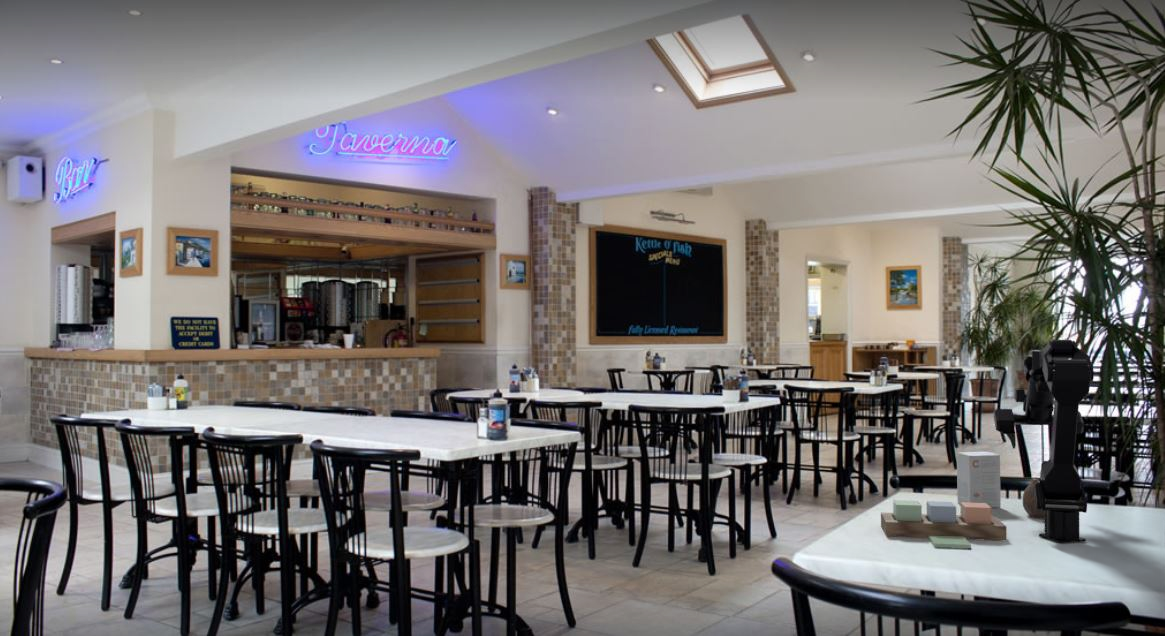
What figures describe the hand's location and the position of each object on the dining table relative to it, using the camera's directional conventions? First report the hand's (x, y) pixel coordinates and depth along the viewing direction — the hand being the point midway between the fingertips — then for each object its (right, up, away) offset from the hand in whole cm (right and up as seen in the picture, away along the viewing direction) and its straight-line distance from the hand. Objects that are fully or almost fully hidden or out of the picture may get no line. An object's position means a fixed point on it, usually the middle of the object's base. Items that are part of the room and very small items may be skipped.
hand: (1034, 448), depth 224 cm
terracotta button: (-25, -13, -25) cm, 38 cm away
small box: (-11, -15, +5) cm, 20 cm away
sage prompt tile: (-34, -15, -33) cm, 50 cm away
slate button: (-32, -13, -24) cm, 42 cm away
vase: (-2, -15, -7) cm, 17 cm away
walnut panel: (-32, -15, -24) cm, 42 cm away
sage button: (-39, -13, -22) cm, 46 cm away
